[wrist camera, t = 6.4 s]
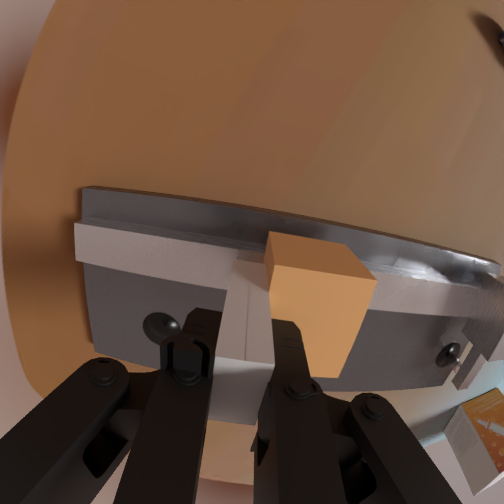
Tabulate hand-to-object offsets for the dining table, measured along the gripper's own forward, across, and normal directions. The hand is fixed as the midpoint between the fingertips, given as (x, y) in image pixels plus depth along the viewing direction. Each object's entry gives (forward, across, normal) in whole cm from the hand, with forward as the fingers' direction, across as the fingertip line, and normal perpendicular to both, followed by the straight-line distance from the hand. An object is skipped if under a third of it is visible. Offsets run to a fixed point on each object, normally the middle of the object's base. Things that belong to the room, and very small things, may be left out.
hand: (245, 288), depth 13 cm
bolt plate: (+5, +5, -4) cm, 8 cm away
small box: (+5, +34, -17) cm, 39 cm away
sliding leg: (+3, +3, -2) cm, 5 cm away
